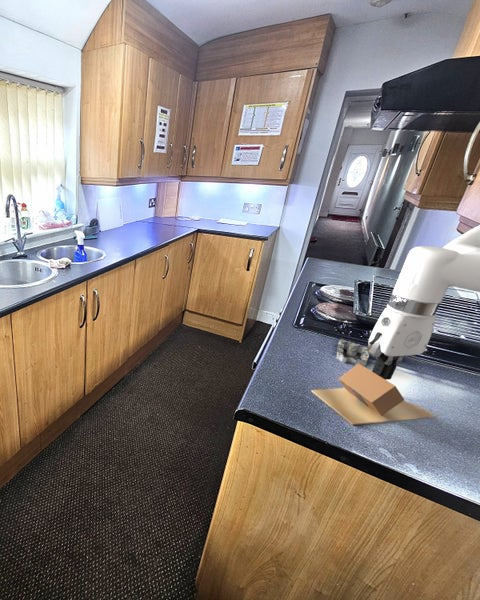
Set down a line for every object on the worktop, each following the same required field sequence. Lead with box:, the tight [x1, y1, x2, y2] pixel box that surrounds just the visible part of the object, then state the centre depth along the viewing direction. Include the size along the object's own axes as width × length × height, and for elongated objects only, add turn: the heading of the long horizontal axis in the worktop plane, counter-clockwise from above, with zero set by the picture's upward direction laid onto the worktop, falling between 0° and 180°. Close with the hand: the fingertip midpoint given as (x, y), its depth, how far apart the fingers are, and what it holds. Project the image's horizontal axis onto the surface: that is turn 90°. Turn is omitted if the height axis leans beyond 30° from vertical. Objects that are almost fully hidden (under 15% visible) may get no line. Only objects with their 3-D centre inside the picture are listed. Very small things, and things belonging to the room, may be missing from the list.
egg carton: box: [335, 338, 370, 368], centre depth 98 cm, size 11×8×4 cm
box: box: [338, 364, 405, 416], centre depth 78 cm, size 6×9×6 cm
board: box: [310, 387, 438, 426], centre depth 80 cm, size 22×12×1 cm, turn 97°
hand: (380, 376), depth 77 cm, fingers closed
